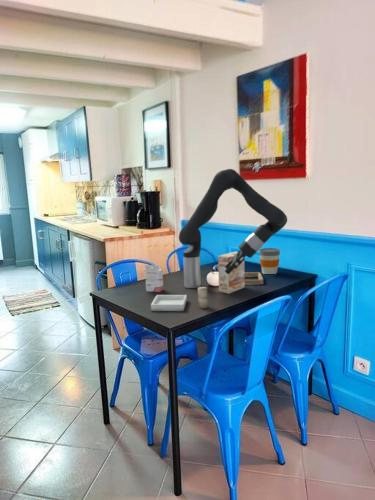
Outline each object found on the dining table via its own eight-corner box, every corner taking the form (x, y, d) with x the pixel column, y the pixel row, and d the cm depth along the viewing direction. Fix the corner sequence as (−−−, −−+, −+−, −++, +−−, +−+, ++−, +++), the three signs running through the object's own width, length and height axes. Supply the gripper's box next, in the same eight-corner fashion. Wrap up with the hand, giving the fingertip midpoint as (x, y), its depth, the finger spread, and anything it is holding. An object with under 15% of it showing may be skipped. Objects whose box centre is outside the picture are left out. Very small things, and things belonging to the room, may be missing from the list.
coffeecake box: (229, 293, 194) (228, 257, 191) (218, 291, 199) (217, 255, 196) (245, 287, 205) (245, 252, 202) (234, 285, 210) (234, 251, 206)
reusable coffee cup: (255, 272, 238) (255, 249, 235) (271, 270, 243) (271, 247, 240) (267, 276, 226) (267, 252, 224) (284, 274, 232) (284, 250, 229)
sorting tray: (156, 300, 187) (156, 295, 186) (186, 300, 185) (186, 294, 185) (151, 310, 172) (150, 304, 171) (183, 310, 170) (183, 304, 170)
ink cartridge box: (163, 289, 206) (162, 263, 204) (160, 292, 201) (158, 265, 199) (149, 288, 209) (148, 263, 206) (145, 291, 204) (144, 265, 202)
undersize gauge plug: (198, 305, 177) (198, 287, 176) (207, 305, 177) (207, 286, 175) (197, 308, 173) (197, 289, 171) (207, 308, 172) (206, 289, 171)
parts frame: (228, 276, 230) (228, 272, 230) (260, 276, 228) (260, 272, 228) (228, 284, 211) (228, 280, 211) (263, 284, 209) (263, 280, 209)
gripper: (244, 237, 175) (220, 261, 178) (246, 241, 161) (220, 268, 164) (256, 248, 175) (232, 272, 178) (259, 253, 161) (232, 280, 164)
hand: (226, 270), depth 171 cm, fingers open, 8 cm apart
